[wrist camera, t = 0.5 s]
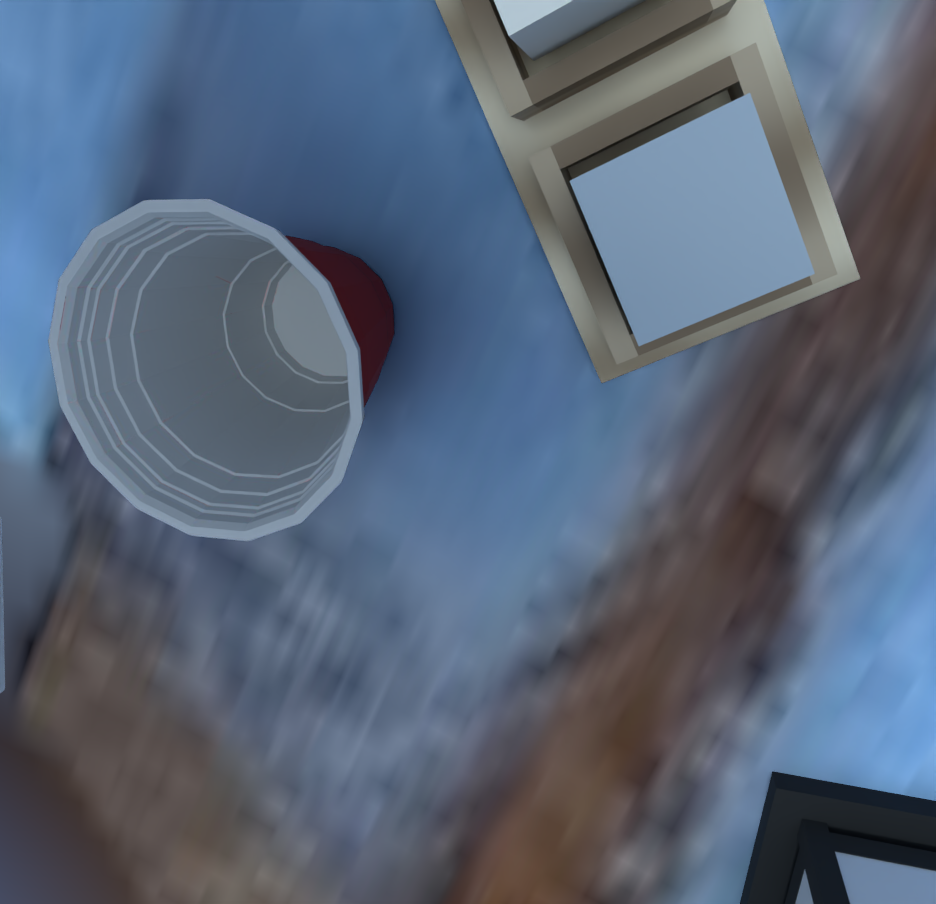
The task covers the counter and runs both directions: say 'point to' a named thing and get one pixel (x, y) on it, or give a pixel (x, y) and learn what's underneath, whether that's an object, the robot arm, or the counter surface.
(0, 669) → the robot arm
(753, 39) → the beige slotted block
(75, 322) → the plastic cup
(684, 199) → the slate key
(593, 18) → the ivory key
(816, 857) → the lantern
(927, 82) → the counter surface
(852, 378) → the counter surface
